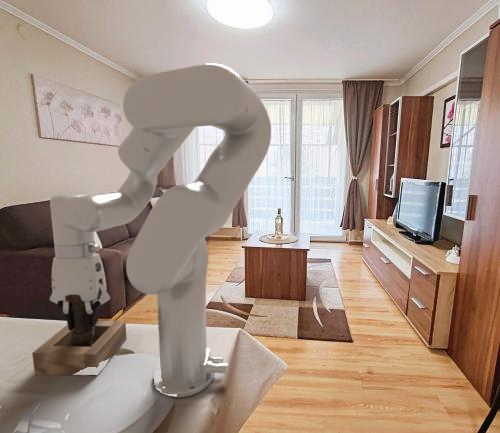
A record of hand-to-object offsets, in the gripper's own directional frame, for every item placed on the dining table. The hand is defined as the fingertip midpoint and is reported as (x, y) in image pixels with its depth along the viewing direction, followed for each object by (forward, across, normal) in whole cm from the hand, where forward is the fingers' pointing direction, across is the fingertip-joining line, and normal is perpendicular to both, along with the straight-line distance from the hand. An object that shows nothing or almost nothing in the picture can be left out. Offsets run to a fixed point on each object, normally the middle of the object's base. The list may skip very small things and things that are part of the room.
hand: (82, 326), depth 67 cm
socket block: (+7, 0, 0) cm, 7 cm away
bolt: (+6, 0, 0) cm, 6 cm away
